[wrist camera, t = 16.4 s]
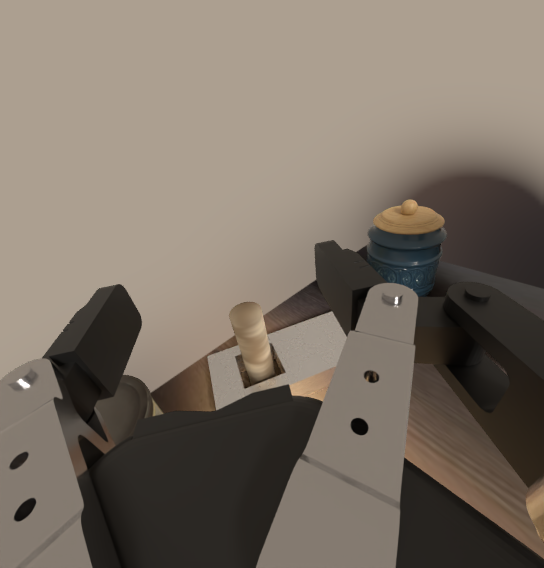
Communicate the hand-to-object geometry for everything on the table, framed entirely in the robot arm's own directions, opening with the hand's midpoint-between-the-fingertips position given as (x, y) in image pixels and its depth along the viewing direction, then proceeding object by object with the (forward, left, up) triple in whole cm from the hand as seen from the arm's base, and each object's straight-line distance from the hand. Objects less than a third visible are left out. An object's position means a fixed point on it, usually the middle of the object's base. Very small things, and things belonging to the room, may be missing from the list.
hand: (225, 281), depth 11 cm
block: (-8, -15, -28) cm, 33 cm away
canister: (-35, -25, -28) cm, 51 cm away
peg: (-2, -15, -28) cm, 32 cm away
